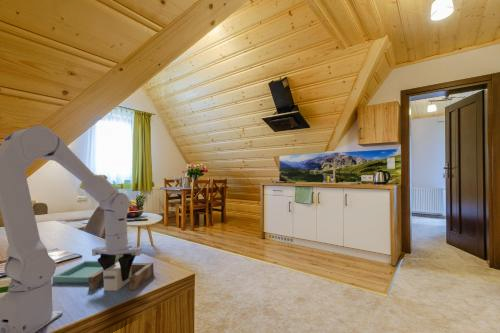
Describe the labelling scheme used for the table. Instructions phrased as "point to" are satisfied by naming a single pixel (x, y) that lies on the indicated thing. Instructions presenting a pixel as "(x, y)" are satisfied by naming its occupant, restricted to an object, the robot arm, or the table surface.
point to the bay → (138, 278)
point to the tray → (78, 273)
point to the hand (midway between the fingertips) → (118, 279)
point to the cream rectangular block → (114, 278)
